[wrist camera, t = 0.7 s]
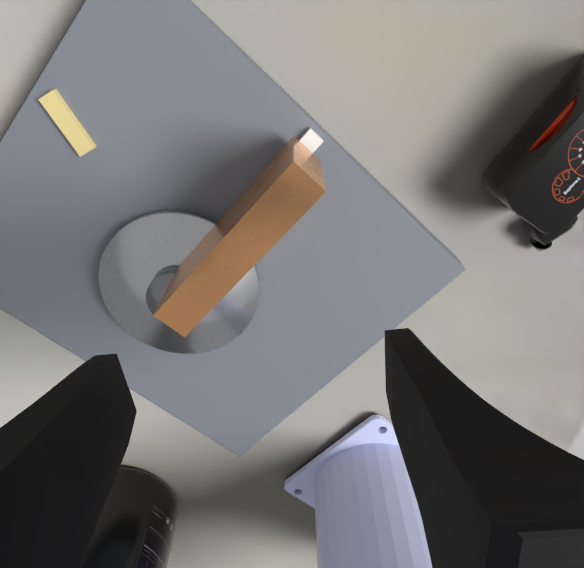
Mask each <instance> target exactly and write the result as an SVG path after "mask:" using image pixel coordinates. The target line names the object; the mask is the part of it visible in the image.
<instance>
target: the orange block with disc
mask: <svg viewBox="0 0 584 568" xmlns="http://www.w3.org/2000/svg"><path fill="white" fill-rule="evenodd" d="M325 192H326V187H325V182H324V176H323V171H322V165H321V161H320V160H319V159H318V158H317V157H316V156H315V155H314V154H313V153H312V152H311V151H310V150H309V149H308V148H307V147H305V146H304V145H303V144H302V143H301V142H300V141H299V140H298V139H297V138H296V137H295V136H293V137H292V138H291V139H290V140H289V142H288V143H287V144H286V145H285V146H284V147H283V148H282V149H281V151H280V152H279V153H278V154H277V155H276V156H275V157H274V158H273V160H272V161H271V162H270V163H269V164H268V165H267V166H266V168H265V169H264V170H263V171H262V172H261V173H260V174H259V175H258V177H257V178H256V179H255V180H254V181H253V182H252V183H251V184H250V186H249V187H248V188H247V189H246V190H245V191H244V192H243V193H242V195H241V196H240V197H239V198H238V199H237V200H236V201H235V202H234V204H233V205H232V206H231V207H230V208H229V209H228V210H227V212H226V213H225V214H224V215H223V216H222V217H221V218H220V219H219V221H218V222H217V221H215V220H213V219H211V218H209V217H206V216H204V215H201V214H198V213H194V212H190V211H183V210H162V211H156V212H152V213H148V214H145V215H142V216H140V217H137V218H136V219H134V220H132V221H130V222H129V223H128V224H126V225H125V226H124V227H123V228H121V229H120V230H119V232H118V233H117V234H116V235H115V236H114V237H113V238H112V239H111V241H110V242H109V244H108V245H107V247H106V248H105V251H104V253H103V255H102V258H101V262H100V266H99V286H100V291H101V294H102V297H103V300H104V303H105V305H106V307H107V308H108V310H109V312H110V313H111V315H112V316H113V318H114V319H115V320H116V321H117V322H118V324H119V325H120V326H121V327H122V328H123V329H124V330H126V331H127V332H128V333H129V334H131V335H132V336H133V337H135V338H136V339H138V340H140V341H141V342H143V343H145V344H147V345H149V346H151V347H154V348H157V349H160V350H163V351H167V352H172V353H180V354H195V353H203V352H208V351H212V350H215V349H218V348H220V347H222V346H224V345H227V344H228V343H230V342H231V341H233V340H234V339H236V338H237V337H238V336H239V335H240V334H241V333H242V332H243V331H244V330H245V329H246V328H247V326H248V325H249V323H250V322H251V320H252V318H253V316H254V314H255V311H256V308H257V305H258V298H259V290H260V288H259V276H258V271H257V268H256V263H257V262H258V261H259V260H260V259H261V258H262V257H263V256H264V255H265V254H266V253H267V252H268V251H269V250H270V249H271V248H272V247H273V246H274V245H275V244H276V243H277V242H278V241H279V240H280V239H281V238H282V237H283V236H284V235H285V234H286V233H287V232H288V231H289V229H290V228H291V227H292V226H293V225H294V224H295V223H296V222H297V221H298V220H299V219H300V218H301V217H302V216H303V215H304V214H305V213H306V212H307V211H308V210H309V209H310V208H311V207H312V206H313V205H314V204H315V203H316V202H317V201H318V200H319V199H320V198H321V197H322V196H323V194H324V193H325Z"/></svg>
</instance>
